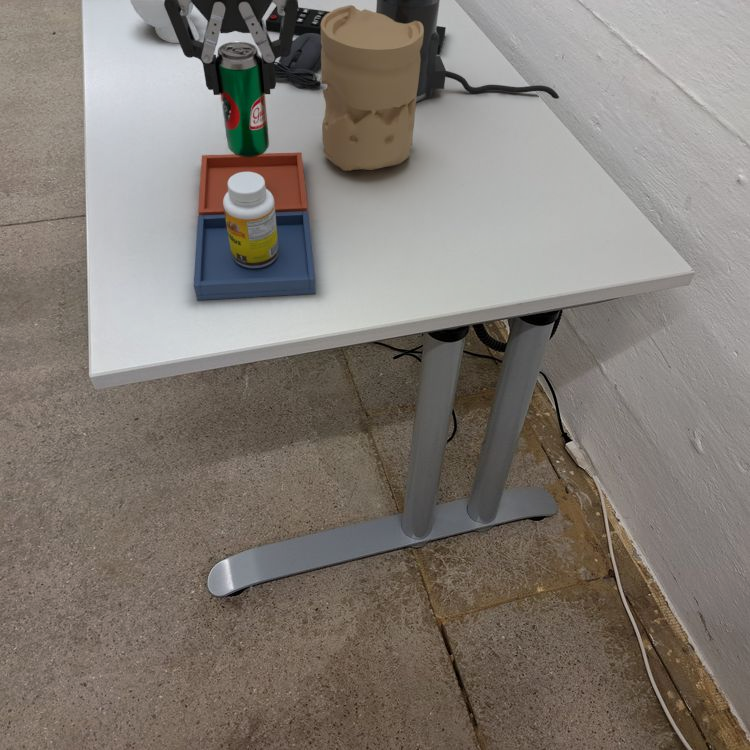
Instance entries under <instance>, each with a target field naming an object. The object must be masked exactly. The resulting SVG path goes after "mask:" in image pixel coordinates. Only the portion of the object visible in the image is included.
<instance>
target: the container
mask: <svg viewBox="0 0 750 750" xmlns="http://www.w3.org/2000/svg"><path fill="white" fill-rule="evenodd" d="M423 35H424V28H423V25H422V23H421V22H419V21H413V22H411V23H408V24H403V23H398V22H395V21H393V20H392V19H391V18H389V17H387V16H385V15H383V14H380V13H376V11H372V10H369V9H362V10H360V9H358V8H356V6H354V5H352V4H350V5H345V6H340V7H338V8H335V9H333V10H331V11H329V13H328V14H326V15H325V16H324V17H323V19H322V21H321V45H322V49H321V67H320V72H321V73H320V75H321V85H326V88H324V89H322V95H323V99H324V102H325V108H324V109H325V110H324V117H323V120H322V124H321V125H322V126H321V139H322V141H321V142H322V145H323V148H322V151H323V154H324V156H325V157H326V158H327V159H328V160H329V161H331V162H332V163H333V164H334V165H335V166H336V167H338V168H339V169H341V171H343V172H349V171H350V172H351V171H355V170H356V171H358V170H371V171H372V170H373V171H374V170H378V169H382V168H386V167H393V166H397V165H400V164H402V163H403V162H404V161H405V160H407V159H408V158H409V157H410V156H411V152H412V148H411V147H412V145H413V136H414V127H415V116H416V106H417V105H416V104H417V102H416V96H417V94H416V93H417V89H418V82H419V72H420V61H421V58H420V49H421V46H422V43H423Z"/></svg>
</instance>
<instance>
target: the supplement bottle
mask: <svg viewBox="0 0 750 750" xmlns="http://www.w3.org/2000/svg"><path fill="white" fill-rule="evenodd" d="M223 206H224V212H225V218H226V224H227V230H228V236H229V242H230V248H231V254H232V257H233V259H234V260H235V261H236V262H237V263H238V264H240V265H241V266H244V267H247V268H261V267H265V266H267V265H269V264H271V263H272V262H273V261H274V260H275V259H276V257H277V255H278V237H277V226H276V215H275V204H274V198H273V195H272V194H271V192H270V191H269V190H267V189H266V187H265V181H264V178H263V177H262V176H261V175H259V174H257V173H254V172H240V173H237V174H234V175H233V176H231V177H230V178H229V180H228V192H227V193H226V195H225V196H224V199H223Z"/></svg>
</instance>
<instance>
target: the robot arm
mask: <svg viewBox="0 0 750 750" xmlns="http://www.w3.org/2000/svg"><path fill="white" fill-rule="evenodd" d="M191 2H192V3H193V7H195V8H196V9H197V11H198V12H199V13H200V14H201V16H202V17H203V18H204V19H205V20H206V25H205V32H204V36H203V39H202V41H199V40H195V38H194V36H193V33H192V30H191V28H190V25H189V23H188V20H187V18H186V16H187V15H188V11H189V6H188V5H189V3H191ZM272 4H274V5H275V7H276V6H277V12H278V14H279V15H280V16H282V22H281V28H280V32H279V34H278V39H276V40H273V41H272V39H271V37H270V35H269V31H267V30H266V23H265V22H264V20H263V18H264V16H265V15H266V13H267V12H268V10H269V8H270V6H271V5H272ZM164 6H165V9H166V11H167V14H168V16H169V19H170V21H171V24H172V26H173V28H174V31H175V33H176V36H177V38H178V41H179V43H178V44H179V45H180V48H181V50H182V52H183V53H182V54H183V55H184V56H185V57H186V58H190V59H191V58H195V59H198V60H199V61H200V62H201V64H202V68H203V74H204V80H205V86H206V88H207V90H209V91H212V93H213V95H214V96H221V95H220V88H219V81H218V74H217V68H216V58H217V54H215V53H216V52H215V51H216V48H217V45H218V41H219V37H220V34H230V33H235V32H238V33H240V34H250V36H251V37H252V39H253V42H254V43H255V46H257V49H258V51H259V52H260V54H261V55H260V57H261V59H262V71H263V83H264V94H265V95H271V90H275V89H276V86H277V81H276V80H277V78H275V64H276V63H275V62H276V61H277V59H278V58H279V59H280V57H281V56H283V57H288V56H289V55H290V52H291V47H292V41H293V40H294V36H295V34H294V29H295V23H296V17H297V12H298V7H299V0H165V2H164ZM439 9H440V0H376V9H375V12H376V13H380V14H383V15H385V16H387V17H389V18H391V19H392V20H393V21H395V22H398V23H403V24H408V23H411V22H413V21H419V22H421V23H422V25H423V28H424V35H423V43H422V46H421V49H420V58H421V61H420V72H419V82H418V89H417V93H416V94H417V96H416V103H417V102H421V101H422V100H424V99H431V98H432V96H433V90H444V89H445V83H446V78H449V79H451V80H455V81H456V82H459V83H460V84H461V85H462V87H463V89H464V90H465V91H466V92H467V93H472V94H479V93H485V92H488V91H496V92H497V91H498V92H506V93H513V94H515V93H516V94H517V93H518V94H520V93H521V94H523V93H531V92H544V93H547V94H548V95H549V96H551V98H553V99H560V96H559V94H558V93H557V92H556V91H555V89H553V88H552V87H550V86H547V85H529V86H510V85H502V84H486V85H482V86H476V87H475V86H471V85H470V83H468V81H467V80H466V79H465V77H463V76H462V75H459V74H457V73H455V72H452V71H449V70H447V69H446V67H445V63H443V62H444V61H443V60H442V57H441V55H438V54H437V49H438V41H439V36H438V34H437V31H436V27H437V26H438V17H439Z"/></svg>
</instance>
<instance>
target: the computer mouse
mask: <svg viewBox="0 0 750 750" xmlns="http://www.w3.org/2000/svg"><path fill="white" fill-rule="evenodd" d="M321 49H322V45H321V35H319V34H314V33H306V34H303V35H298V36H297V37H296V38H295V39H293V41H292V47H291V52H290V55H289V56H288V57H283V56H281V57H279V59H278V61H275V63H274V64H275V78H276V79H287V81H288V82H289V81H290V82H291V83H292V84H293V85H294V86H295V87H296V88H298V89H305V88H309V89H311V90H312V89H313V90H315V89H319V88H320V87H321V85H322V79H321V74H319V73H316V71H317V70H318V69H319V68H321Z"/></svg>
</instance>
